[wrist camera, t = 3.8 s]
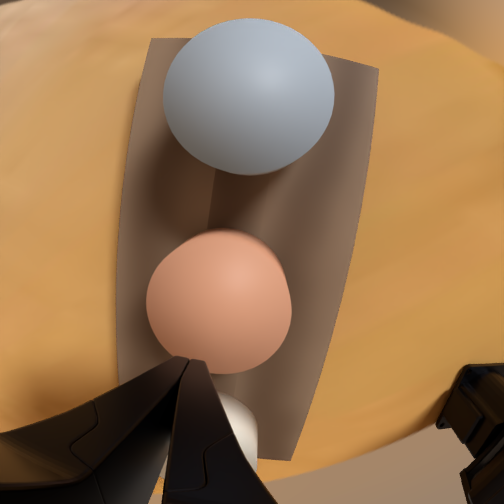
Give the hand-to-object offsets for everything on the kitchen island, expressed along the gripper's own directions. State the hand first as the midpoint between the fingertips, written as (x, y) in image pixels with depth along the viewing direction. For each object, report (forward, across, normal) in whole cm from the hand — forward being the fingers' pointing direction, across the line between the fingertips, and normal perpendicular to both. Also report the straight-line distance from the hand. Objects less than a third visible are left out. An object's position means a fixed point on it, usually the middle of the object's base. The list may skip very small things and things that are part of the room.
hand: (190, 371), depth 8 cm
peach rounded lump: (+10, 0, 0) cm, 10 cm away
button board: (+10, 0, 0) cm, 11 cm away
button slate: (+9, 0, -8) cm, 13 cm away
